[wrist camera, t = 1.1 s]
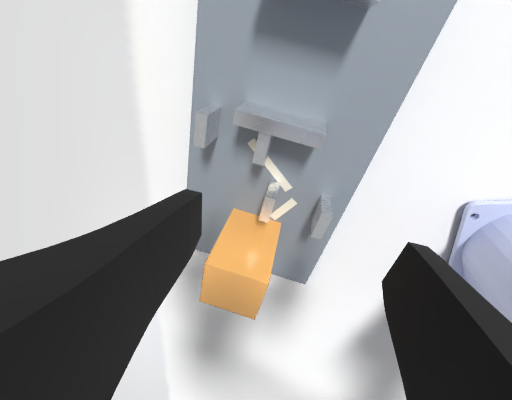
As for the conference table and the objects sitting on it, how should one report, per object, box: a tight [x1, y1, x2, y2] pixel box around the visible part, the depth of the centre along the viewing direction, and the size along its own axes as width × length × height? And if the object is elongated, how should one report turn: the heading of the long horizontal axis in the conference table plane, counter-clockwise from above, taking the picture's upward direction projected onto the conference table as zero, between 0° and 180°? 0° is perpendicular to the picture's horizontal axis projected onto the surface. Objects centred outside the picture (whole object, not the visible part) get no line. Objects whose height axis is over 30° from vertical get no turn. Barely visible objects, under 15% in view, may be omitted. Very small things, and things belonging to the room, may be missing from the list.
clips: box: [193, 103, 333, 239], centre depth 16 cm, size 6×9×2 cm, turn 78°
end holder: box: [233, 0, 380, 149], centre depth 12 cm, size 7×5×2 cm
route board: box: [187, 0, 457, 284], centre depth 17 cm, size 21×12×1 cm, turn 168°
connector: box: [200, 208, 281, 320], centre depth 18 cm, size 4×4×6 cm
